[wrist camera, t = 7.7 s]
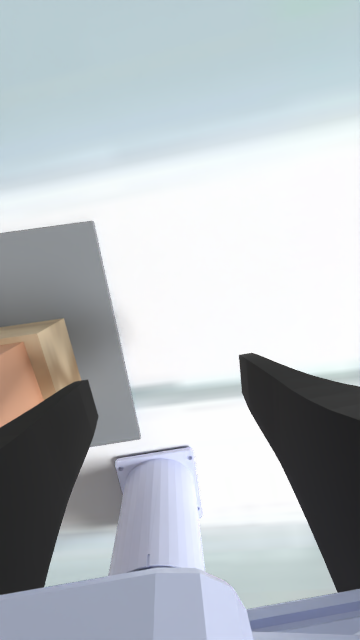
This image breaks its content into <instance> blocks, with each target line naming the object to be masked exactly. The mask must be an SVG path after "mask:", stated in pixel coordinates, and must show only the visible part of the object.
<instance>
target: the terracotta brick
mask: <svg viewBox="0 0 360 640" xmlns="http://www.w3.org/2000/svg"><path fill="white" fill-rule="evenodd" d="M42 401H44V399H43V397H42V394H41V391H40V388H39V385H38V382H37V379H36V376H35V374H34V371H33V368H32V365H31V362H30V359H29V356H28V354H27V351H26V348H25V345H24V342H18V343H11V344H5V345H0V427H2V426H4V425H5V424H7V423H9V422H10V421H12V420H14V419H15V418H17V417H19V416H20V415H22V414H23V413H25V412H27V411H28V410H30V409H31V408H33V407H35V406H36V405H38V404H39V403H41V402H42Z"/></svg>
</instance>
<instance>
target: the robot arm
mask: <svg viewBox="0 0 360 640" xmlns="http://www.w3.org/2000/svg"><path fill="white" fill-rule="evenodd" d="M239 360H240V372H241V384H242V393H243V396H244V398H245V401H246V403H247V405H248V408H249V410H250V412H251V414H252V415H253V417H254V419H255V421H256V422H257V424H258V426H259V427H260V429H261V431H262V432H263V434H264V436H265V437H266V439H267V441H268V442H269V444H270V446H271V447H272V449H273V451H274V452H275V454H276V456H277V458H278V460H279V461H280V463H281V465H282V467H283V469H284V472H285V474H286V476H287V478H288V480H289V482H290V484H291V486H292V488H293V491H294V493H295V495H296V497H297V499H298V502H299V504H300V506H301V508H302V510H303V513H304V515H305V517H306V519H307V521H308V524H309V526H310V528H311V531H312V533H313V535H314V538H315V540H316V542H317V545H318V547H319V549H320V551H321V554H322V556H323V558H324V561H325V563H326V566H327V568H328V570H329V573H330V575H331V578H332V580H333V582H334V585H335V587H336V590H337V592H338V593H334V594H328V595H322V596H317V597H311V598H306V599H300V600H295V601H289V602H284V603H278V604H273V605H267V606H261V607H256V608H250V609H246V608H245V607H244V605H243V603H242V602H241V600H240V598H239V597H238V595H237V593H236V591H235V590H234V588H233V587H232V586H231V585H230V584H228V583H227V582H226V581H225V580H223V579H220V578H218V577H216V576H214V575H211V574H209V573H207V572H205V565H204V557H203V548H202V540H201V532H200V524H199V518H201V517H202V516H203V512H202V505H201V498H200V491H199V484H198V478H197V471H196V464H195V457H194V450H193V449H192V448H191V447H187V448H180V449H174V450H168V451H161V452H155V453H149V454H142V455H136V456H130V457H123V458H118V459H117V460H116V461H115V468H116V471H117V475H118V479H119V483H120V486H121V490H122V494H123V499H122V504H121V509H120V515H119V520H118V526H117V531H116V537H115V542H114V547H113V553H112V558H111V564H110V569H109V575H108V576H106V577H100V578H95V579H89V580H83V581H78V582H72V583H66V584H61V585H55V586H49V587H44V585H45V581H46V577H47V573H48V569H49V565H50V562H51V558H52V554H53V551H54V547H55V543H56V540H57V536H58V533H59V529H60V526H61V523H62V519H63V516H64V513H65V509H66V506H67V503H68V500H69V497H70V494H71V492H72V489H73V486H74V484H75V481H76V479H77V476H78V474H79V472H80V469H81V467H82V464H83V462H84V459H85V457H86V454H87V452H88V449H89V447H90V444H91V442H92V439H93V437H94V433H95V429H96V425H97V421H98V417H99V416H98V413H97V409H96V406H95V402H94V399H93V395H92V392H91V388H90V385H89V381H88V379H87V380H81V381H75V382H73V383H71V384H69V385H67V386H66V387H64V388H62V389H61V390H59V391H58V392H56V393H55V394H53V395H51V396H50V397H48V398H47V399H45V400H44V401H42V402H41V403H39V404H38V405H36V406H35V407H33V408H31V409H30V410H28V411H27V412H25V413H23V414H22V415H20V416H19V417H17V418H15V419H14V420H12V421H10V422H9V423H7V424H5V425H4V426H2V427H0V640H360V387H358V386H353V385H348V384H343V383H339V382H335V381H331V380H327V379H323V378H319V377H316V376H313V375H309V374H306V373H303V372H300V371H297V370H295V369H292V368H289V367H287V366H284V365H282V364H279V363H277V362H274V361H272V360H269V359H267V358H264V357H262V356H259V355H257V354H254V353H249V354H243V355H239ZM188 456H190V457H188Z"/></svg>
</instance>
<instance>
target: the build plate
mask: <svg viewBox="0 0 360 640" xmlns="http://www.w3.org/2000/svg"><path fill="white" fill-rule="evenodd" d="M62 318H64V321H65V324H66V328H67V331H68V335H69V338H70V342H71V345H72V349H73V353H74V356H75V360H76V363H77V367H78V370H79V374H80V377H81V380H87V379H88V381H89V385H90V388H91V392H92V395H93V399H94V402H95V406H96V409H97V413H98V416H99V417H98V421H97V425H96V429H95V433H94V437H93V439H92V442H91V444H90V447H94V446H100V445H106V444H113V443H119V442H126V441H132V440H138V439H140V438H141V435H140V430H139V426H138V421H137V417H136V412H135V408H134V403H133V398H132V394H131V389H130V385H129V380H128V376H127V371H126V367H125V362H124V357H123V353H122V348H121V344H120V339H119V335H118V330H117V325H116V321H115V316H114V312H113V307H112V303H111V298H110V294H109V289H108V284H107V280H106V275H105V271H104V266H103V262H102V257H101V252H100V248H99V243H98V239H97V234H96V230H95V225H94V222H93V221H87V222H80V223H73V224H65V225H58V226H50V227H43V228H36V229H28V230H21V231H14V232H6V233H0V327H6V326H13V325H20V324H27V323H34V322H41V321H48V320H55V319H62Z"/></svg>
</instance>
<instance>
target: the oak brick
mask: <svg viewBox="0 0 360 640" xmlns="http://www.w3.org/2000/svg"><path fill="white" fill-rule="evenodd" d="M18 342H24V345H25V348H26V351H27V354H28V356H29V359H30V362H31V365H32V368H33V371H34V374H35V376H36V379H37V382H38V385H39V388H40V391H41V394H42V397H43V399H44V400H45V399H47V398H48V397H50V396H51V395H53V394H55V393H56V392H58V391H59V390H61V389H62V388H64V387H66V386H67V385H69V384H71V383H73V382H75V381H81V377H80V374H79V370H78V367H77V363H76V360H75V356H74V353H73V349H72V345H71V342H70V338H69V335H68V331H67V328H66V324H65V321H64V318H62V319H55V320H48V321H41V322H34V323H27V324H20V325H13V326H6V327H0V345H5V344H11V343H18Z"/></svg>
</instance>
